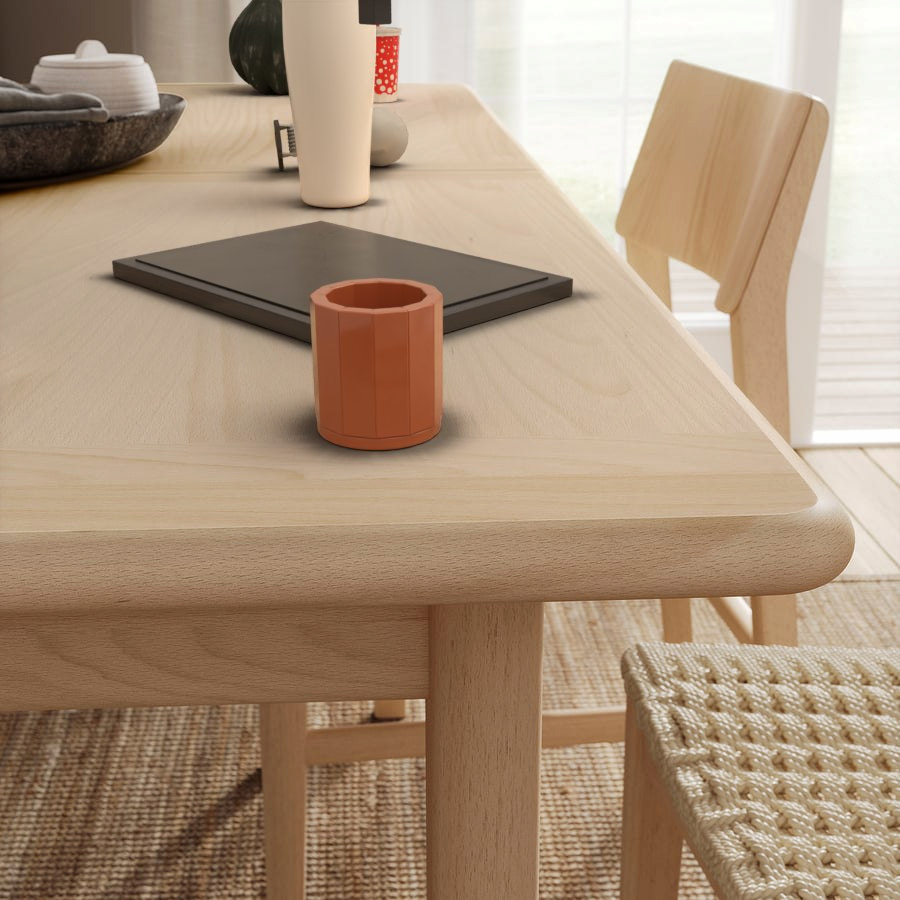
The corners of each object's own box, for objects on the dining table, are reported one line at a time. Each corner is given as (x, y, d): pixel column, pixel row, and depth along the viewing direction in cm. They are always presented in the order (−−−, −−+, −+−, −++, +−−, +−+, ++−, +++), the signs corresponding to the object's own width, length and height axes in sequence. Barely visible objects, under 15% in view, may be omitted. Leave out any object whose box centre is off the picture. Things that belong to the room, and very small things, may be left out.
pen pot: (292, 426, 47) (284, 294, 45) (383, 396, 51) (380, 271, 48) (374, 461, 44) (371, 320, 42) (466, 426, 47) (467, 294, 45)
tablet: (113, 276, 69) (111, 258, 69) (321, 234, 80) (321, 218, 79) (358, 359, 55) (357, 337, 55) (573, 295, 66) (573, 276, 65)
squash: (326, 44, 172) (259, -38, 163) (371, 56, 161) (301, -32, 151) (261, 114, 172) (190, 36, 162) (302, 131, 160) (228, 47, 151)
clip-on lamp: (297, 181, 115) (265, 170, 97) (289, 115, 114) (256, 91, 96) (416, 170, 115) (406, 156, 97) (409, 103, 114) (398, 77, 96)
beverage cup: (349, 99, 156) (345, -14, 150) (392, 97, 158) (390, -15, 152) (366, 104, 150) (363, -13, 145) (409, 101, 153) (408, -14, 147)
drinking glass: (273, 202, 90) (262, -6, 85) (343, 191, 95) (336, -8, 89) (327, 215, 86) (318, -4, 80) (397, 203, 90) (394, -6, 84)
